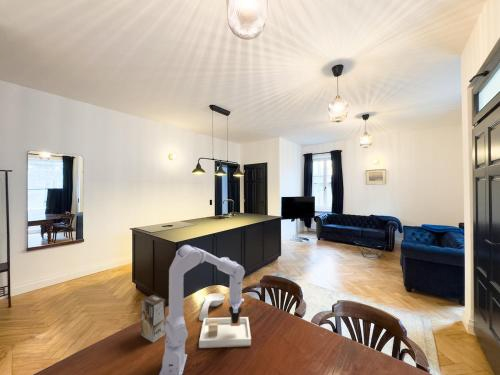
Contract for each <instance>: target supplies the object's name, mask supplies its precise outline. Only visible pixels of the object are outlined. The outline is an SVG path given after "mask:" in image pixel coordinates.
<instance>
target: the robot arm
mask: <svg viewBox="0 0 500 375" xmlns="http://www.w3.org/2000/svg"><path fill="white" fill-rule="evenodd" d="M204 262H206V263H210V264H212V265H215V266H216V268H217V271H221V272H223V273H225V274H227V275H229V288H228V289H229V293H228V294H229V295H228V298H229V299H228V303H229V305H230V306H229V307H228V311H229V313H230V317H232V323H237V322H238V318H239V314H240V315H241V313H242V309H243V308H242V307H240V306H241V304H242V303H244V302H245V298H242V296H243V295H242V293H243V280H244V276H245V274H246V270H245V268H244V266H243V265H241V264H239V263H238V262H237V261H235V260H230V258H229V257H227V256H224V257H220V258H219V257H217V256H215V255H213V254H211V253H210V252H207V251H206V250H205V249H201V248H198V247H196V246H191V245H189V244H184V245H182V246H181V247H180V248H179V249H178V250H176V252H175V257H174V258H173V261H172V262H171V264H170V266H169V269H168V315H167V316H165V325H164V332H165V333H164V334H166V336H165V340H164V354H163V356H162V361H161V362H162V366H161V368H160V369H161V370H160V372H159V374H158V375H183V374H184V368H185V365H186V361H187V358H188V354H187V353H185V352H186V351H185V350H186V341H187V339H188V336H189V332H188V330H187V326H186V321H185V317H184V279H185V278H184V275H185V273H187V272H188V271H190V270H191V269H193V268H195V267H196V266H198V265H199V264H203V263H204Z"/></svg>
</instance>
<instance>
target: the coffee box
mask: <svg viewBox="0 0 500 375" xmlns="http://www.w3.org/2000/svg"><path fill="white" fill-rule="evenodd" d="M140 323H141V324H140V336H141V337H143V338H144V339H146V340H148V341H150V342H151V343H155V342H157V341H158V340H159V339H161V338H162V337H164V336H165V334H166V333H165V332H164V325H165V323H166V298H162V297H160V296H158V295H155V294H151V295H150V296H147V297H145V298H144V299H142V300H141V322H140Z"/></svg>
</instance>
